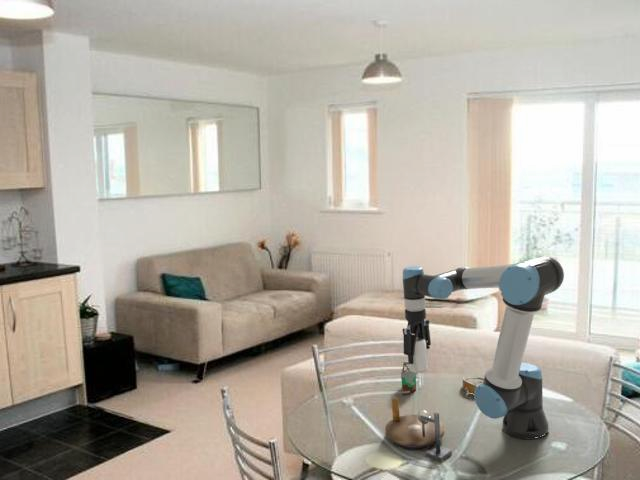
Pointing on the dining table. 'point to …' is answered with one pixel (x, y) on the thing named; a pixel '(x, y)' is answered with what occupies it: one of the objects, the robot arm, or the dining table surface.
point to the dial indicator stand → (437, 450)
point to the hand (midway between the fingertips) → (418, 368)
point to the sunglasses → (470, 385)
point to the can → (420, 354)
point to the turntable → (409, 429)
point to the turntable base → (415, 446)
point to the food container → (408, 380)
